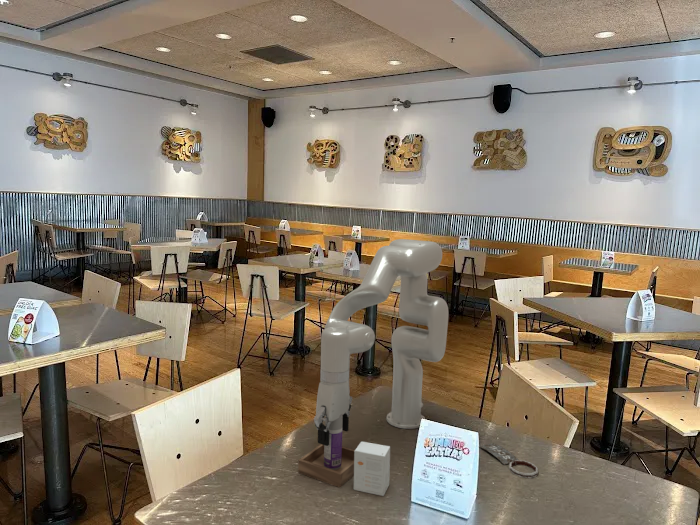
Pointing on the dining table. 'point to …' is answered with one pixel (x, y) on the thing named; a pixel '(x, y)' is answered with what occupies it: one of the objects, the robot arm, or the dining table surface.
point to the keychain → (510, 460)
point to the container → (334, 445)
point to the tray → (315, 468)
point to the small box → (371, 468)
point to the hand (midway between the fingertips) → (333, 436)
